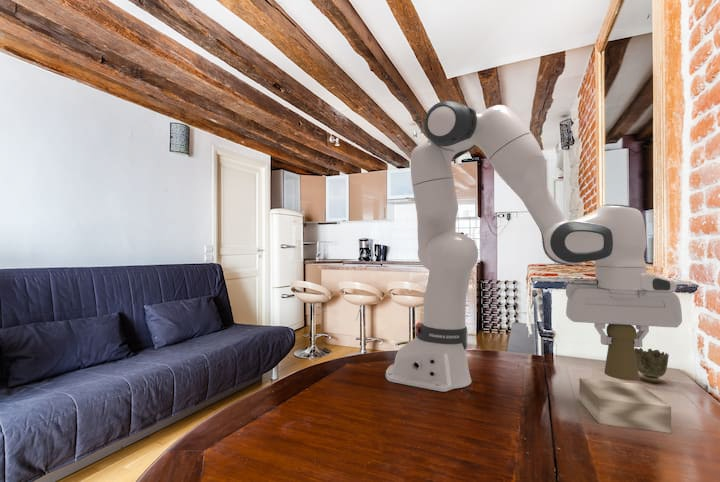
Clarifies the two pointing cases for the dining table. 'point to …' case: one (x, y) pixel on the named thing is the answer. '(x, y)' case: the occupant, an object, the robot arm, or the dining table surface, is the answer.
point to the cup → (651, 364)
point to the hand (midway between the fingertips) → (621, 345)
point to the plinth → (624, 405)
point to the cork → (621, 353)
